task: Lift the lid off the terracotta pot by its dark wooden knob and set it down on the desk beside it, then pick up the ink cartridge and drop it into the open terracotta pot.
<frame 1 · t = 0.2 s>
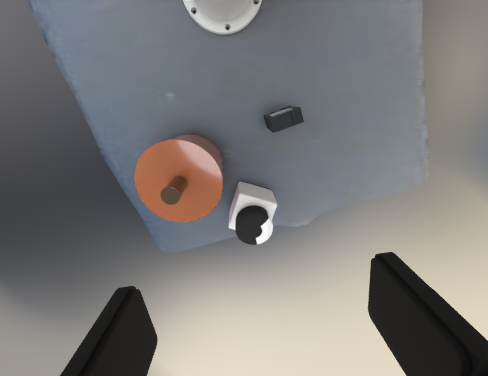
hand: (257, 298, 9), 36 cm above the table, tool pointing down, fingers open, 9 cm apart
lid: (180, 182, 36), point 9 cm above the table, touching terracotta pot
terracotta pot: (191, 166, 45), on the table
medicine bottle: (250, 200, 48), on the table
ink cartridge: (278, 116, 42), on the table
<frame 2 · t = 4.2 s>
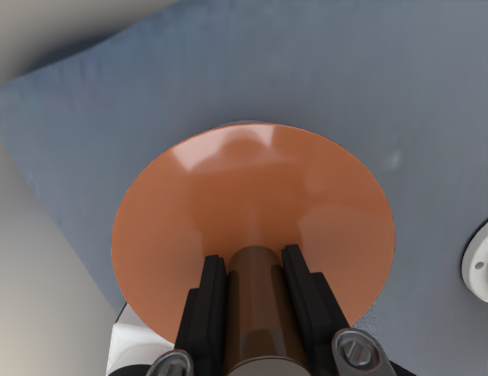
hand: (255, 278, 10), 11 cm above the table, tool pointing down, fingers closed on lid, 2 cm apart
lid: (254, 260, 12), point 10 cm above the table, touching terracotta pot, gripper
medicine bottle: (177, 294, 24), on the table
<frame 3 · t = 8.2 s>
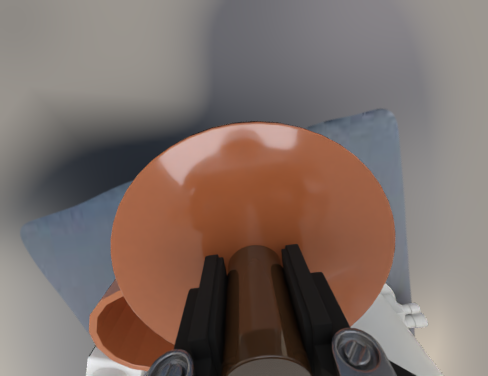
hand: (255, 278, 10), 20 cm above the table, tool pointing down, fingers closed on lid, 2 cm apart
lid: (253, 259, 12), point 18 cm above the table, touching gripper
terracotta pot: (171, 273, 34), on the table
medicine bottle: (135, 330, 38), on the table
when the fingers open (2 cm above the table, at t = 12.2 s): lid stays where it is, point 1 cm above the table.
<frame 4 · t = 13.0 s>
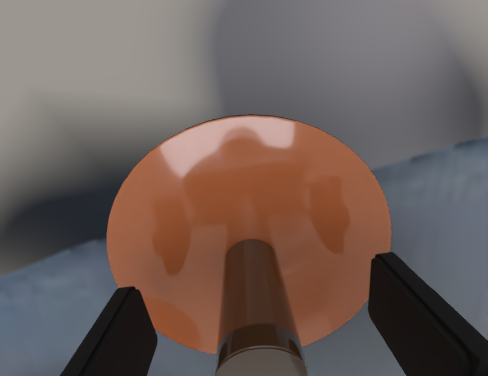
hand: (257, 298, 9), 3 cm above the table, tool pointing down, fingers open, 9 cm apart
lid: (250, 254, 12), point 1 cm above the table
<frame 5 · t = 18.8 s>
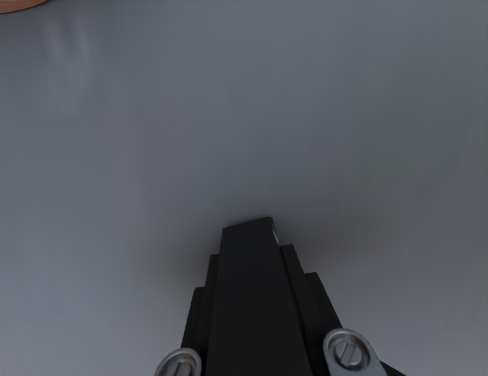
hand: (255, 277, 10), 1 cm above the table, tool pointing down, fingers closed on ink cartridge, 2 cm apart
ink cartridge: (258, 257, 12), on the table, touching gripper
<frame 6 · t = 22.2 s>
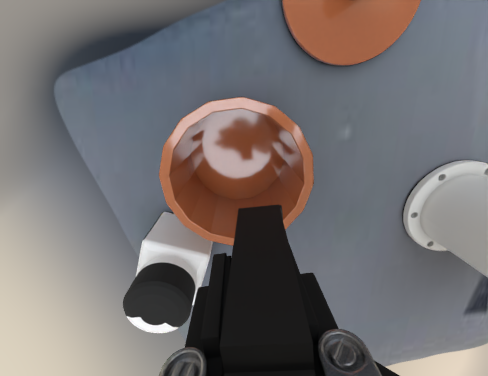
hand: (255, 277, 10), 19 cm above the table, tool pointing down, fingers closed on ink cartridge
terracotta pot: (237, 155, 28), on the table
medicine bottle: (184, 238, 32), on the table
ink cartridge: (263, 239, 14), point 16 cm above the table, touching gripper
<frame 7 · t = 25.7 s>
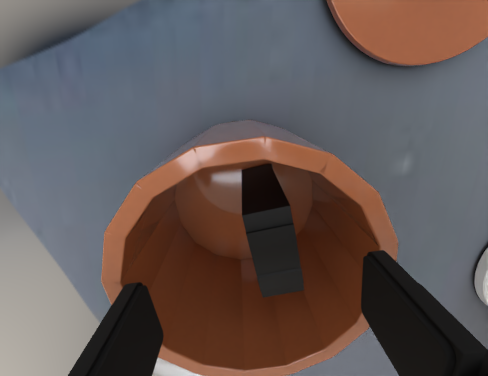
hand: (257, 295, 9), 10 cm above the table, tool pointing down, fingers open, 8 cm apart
terracotta pot: (244, 199, 19), on the table
medicine bottle: (170, 307, 23), on the table
ink cartridge: (262, 193, 18), resting on terracotta pot
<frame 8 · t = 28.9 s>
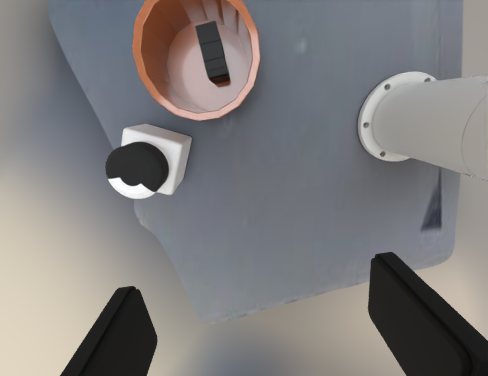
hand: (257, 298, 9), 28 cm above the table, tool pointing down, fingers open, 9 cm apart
terracotta pot: (208, 68, 32), on the table
medicine bottle: (165, 152, 36), on the table
ink cartridge: (218, 63, 31), resting on terracotta pot
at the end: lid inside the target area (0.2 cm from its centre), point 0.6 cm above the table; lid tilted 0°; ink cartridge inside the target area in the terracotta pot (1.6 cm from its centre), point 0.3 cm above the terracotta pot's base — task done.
